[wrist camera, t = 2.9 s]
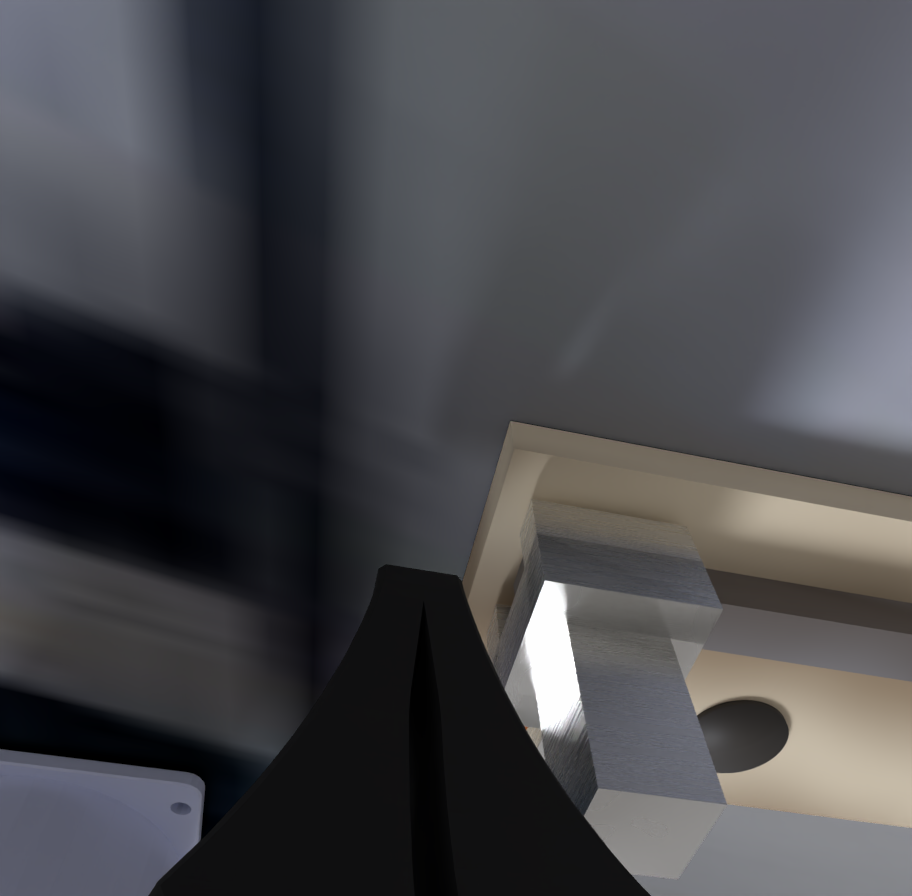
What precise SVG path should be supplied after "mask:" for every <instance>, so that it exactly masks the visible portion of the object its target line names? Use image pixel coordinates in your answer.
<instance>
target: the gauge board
mask: <svg viewBox="0 0 912 896" xmlns="http://www.w3.org/2000/svg"><path fill="white" fill-rule="evenodd" d="M531 499H534V500H540V501H546V502H551V503H557V504H563V505H568V506H574V507H580V508H585V509H591V510H597V511H602V512H608V513H614V514H619V515H625V516H631V517H636V518H642V519H648V520H653V521H659V522H665V523H670V524H676V525H682V526H687V528H688V531H689V533H690V535H691V537H692V540H693V542H694V544H695V546H696V549H697V551H698V553H699V555H700V558H701V560H702V562H703V565H704V567H705V569H706V571H707V574H708V576H709V578H710V580H711V583H712V585H713V587H714V589H715V592H716V594H717V596H718V599H719V601H720V603H721V605H722V608H723V611H722V613H721V615H720V616H719V618H718V620H717V622H716V624H715V626H714V627H713V629H712V631H711V633H710V635H709V637H708V639H707V640H706V642H705V644H704V646H703V648H702V650H701V651H700V653H699V655H698V657H697V659H696V661H695V663H694V664H693V666H692V668H691V670H690V672H689V674H688V675H687V677H686V679H685V683H686V685H687V688H688V691H689V694H690V697H691V700H692V703H693V706H694V709H695V712H696V715H697V718H698V721H699V723H700V726H701V729H702V732H703V735H704V738H705V741H706V744H707V747H708V750H709V753H710V756H711V759H712V761H713V764H714V767H715V770H716V773H717V776H718V779H719V782H720V785H721V788H722V791H723V794H724V796H725V799H726V802H727V804H730V805H738V806H746V807H754V808H761V809H769V810H777V811H785V812H792V813H800V814H808V815H816V816H823V817H831V818H839V819H847V820H854V821H862V822H870V823H878V824H885V825H893V826H901V827H909V828H912V497H911V496H905V495H900V494H895V493H890V492H884V491H879V490H874V489H868V488H863V487H858V486H853V485H847V484H842V483H837V482H831V481H826V480H821V479H815V478H810V477H805V476H800V475H794V474H789V473H784V472H778V471H773V470H768V469H763V468H757V467H752V466H747V465H741V464H736V463H731V462H725V461H720V460H715V459H710V458H704V457H699V456H694V455H688V454H683V453H678V452H673V451H667V450H662V449H657V448H651V447H646V446H641V445H635V444H630V443H625V442H620V441H614V440H609V439H604V438H598V437H593V436H588V435H583V434H577V433H572V432H567V431H561V430H556V429H551V428H545V427H540V426H535V425H530V424H524V423H519V422H514V421H510V424H509V427H508V430H507V434H506V437H505V440H504V444H503V447H502V450H501V454H500V457H499V461H498V464H497V467H496V471H495V474H494V477H493V481H492V484H491V487H490V491H489V494H488V497H487V501H486V504H485V508H484V511H483V514H482V518H481V521H480V524H479V528H478V531H477V534H476V538H475V541H474V545H473V548H472V551H471V555H470V558H469V561H468V565H467V568H466V571H465V575H464V578H463V581H462V584H463V588H464V591H465V594H466V597H467V601H468V604H469V606H470V609H471V612H472V615H473V618H474V620H475V623H476V625H477V628H478V631H479V633H480V636H481V638H482V641H483V643H484V645H485V648H486V650H487V652H488V648H487V630H488V627H489V624H490V621H491V618H492V615H493V612H494V609H495V606H496V604H500V605H506V606H512V603H513V600H514V597H515V594H516V591H517V589H518V586H519V583H520V580H521V577H522V574H523V571H524V561H523V554H522V547H521V539H520V531H521V528H522V525H523V522H524V519H525V516H526V513H527V510H528V507H529V504H530V501H531Z"/></svg>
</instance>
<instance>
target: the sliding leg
mask: <svg viewBox="0 0 912 896" xmlns="http://www.w3.org/2000/svg"><path fill="white" fill-rule="evenodd" d="M520 539H521V547H522V554H523V561H524V571H523V574H522V577H521V580H520V583H519V586H518V589H517V591H516V594H515V597H514V600H513V603H512V606H506V605H500V604H496V606H495V609H494V612H493V615H492V618H491V621H490V624H489V627H488V630H487V648H488V655H489V657H490V659H491V661H492V663H493V666H494V668H495V670H496V672H497V674H498V677H499V679H500V681H501V683H502V685H503V687H504V689H505V691H506V693H507V695H508V697H509V699H510V701H511V703H512V705H513V706H514V708H515V710H516V712H517V714H518V716H519V718H520V720H521V721H522V723H523V725H524V727H525V729H526V730H527V732H528V734H529V736H530V737H531V739H532V741H533V742H534V744H535V746H536V747H537V749H538V751H539V752H540V754H541V755H542V757H543V758H544V760H545V762H546V763H547V765H548V766H549V768H550V769H551V771H552V773H553V774H554V775H555V777H556V778H557V780H558V781H559V783H560V784H561V786H562V787H563V789H564V790H565V791H566V793H567V794H568V796H569V797H570V799H571V800H572V802H573V803H574V804H575V806H576V807H577V808H578V809H579V811H580V812H581V813H582V815H583V816H584V817H585V818H586V820H587V821H588V822H589V824H590V825H591V826H592V827H593V829H594V830H595V831H596V833H597V834H598V835H599V836H600V838H601V839H602V840H603V842H604V843H605V844H606V845H607V847H608V848H609V849H610V851H611V852H612V853H613V854H614V855H615V857H616V858H617V859H618V860H619V861H620V862H621V863H622V865H623V866H624V867H625V868H626V869H627V870H628V872H629V873H630V874H635V875H644V876H652V877H661V878H670V879H679V877H680V876H681V874H682V873H683V871H684V870H685V868H686V867H687V865H688V864H689V862H690V861H691V859H692V858H693V856H694V855H695V853H696V852H697V850H698V849H699V847H700V846H701V844H702V843H703V841H704V840H705V838H706V836H707V835H708V833H709V832H710V830H711V829H712V827H713V826H714V824H715V823H716V821H717V820H718V818H719V817H720V815H721V814H722V812H723V811H724V809H725V808H726V806H727V802H726V799H725V796H724V794H723V791H722V788H721V785H720V782H719V779H718V776H717V773H716V770H715V767H714V764H713V761H712V759H711V756H710V753H709V750H708V747H707V744H706V741H705V738H704V735H703V732H702V729H701V726H700V723H699V721H698V718H697V715H696V712H695V709H694V706H693V703H692V700H691V697H690V694H689V691H688V688H687V685H686V683H685V679H686V677H687V675H688V674H689V672H690V670H691V668H692V666H693V664H694V663H695V661H696V659H697V657H698V655H699V653H700V651H701V650H702V648H703V646H704V644H705V642H706V640H707V639H708V637H709V635H710V633H711V631H712V629H713V627H714V626H715V624H716V622H717V620H718V618H719V616H720V615H721V613H722V611H723V608H722V605H721V603H720V601H719V599H718V596H717V594H716V592H715V589H714V587H713V585H712V583H711V580H710V578H709V576H708V574H707V571H706V569H705V567H704V565H703V562H702V560H701V558H700V555H699V553H698V551H697V549H696V546H695V544H694V542H693V540H692V537H691V535H690V533H689V531H688V528H687V526H682V525H676V524H670V523H665V522H659V521H653V520H648V519H642V518H636V517H631V516H625V515H619V514H614V513H608V512H602V511H597V510H591V509H585V508H580V507H574V506H568V505H563V504H557V503H551V502H546V501H540V500H534V499H531V501H530V504H529V507H528V510H527V513H526V516H525V519H524V522H523V525H522V528H521V531H520Z"/></svg>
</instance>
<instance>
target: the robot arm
mask: <svg viewBox="0 0 912 896" xmlns="http://www.w3.org/2000/svg"><path fill="white" fill-rule="evenodd" d="M204 795H205V784H204V782H203V780H202V779H201V778H200V777H199V776H197V775H195V774H193V773H189V772H183V771H175V770H167V769H159V768H151V767H143V766H135V765H126V764H118V763H110V762H102V761H94V760H86V759H78V758H70V757H61V756H53V755H45V754H37V753H29V752H21V751H13V750H5V749H0V896H651V895H650V894H649V893H648V892H647V891H646V890H645V889H644V888H643V887H642V886H641V885H640V884H639V883H638V882H637V881H636V880H635V878H634V877H633V876H632V875H631V874H630V873H629V872H628V870H627V869H626V868H625V867H624V866H623V865H622V863H621V862H620V861H619V860H618V859H617V858H616V857H615V855H614V854H613V853H612V852H611V851H610V849H609V848H608V847H607V845H606V844H605V843H604V842H603V840H602V839H601V838H600V836H599V835H598V834H597V833H596V831H595V830H594V829H593V827H592V826H591V825H590V824H589V822H588V821H587V820H586V818H585V817H584V816H583V815H582V813H581V812H580V811H579V809H578V808H577V807H576V806H575V804H574V803H573V802H572V800H571V799H570V797H569V796H568V794H567V793H566V791H565V790H564V789H563V787H562V786H561V784H560V783H559V781H558V780H557V778H556V777H555V775H554V774H553V773H552V771H551V769H550V768H549V766H548V765H547V763H546V762H545V760H544V758H543V757H542V755H541V754H540V752H539V751H538V749H537V747H536V746H535V744H534V742H533V741H532V739H531V737H530V736H529V734H528V732H527V730H526V729H525V727H524V725H523V723H522V721H521V720H520V718H519V716H518V714H517V712H516V710H515V708H514V706H513V705H512V703H511V701H510V699H509V697H508V695H507V693H506V691H505V689H504V687H503V685H502V683H501V681H500V679H499V677H498V674H497V672H496V670H495V668H494V666H493V663H492V661H491V659H490V657H489V655H488V652H487V650H486V648H485V645H484V643H483V641H482V638H481V636H480V633H479V631H478V628H477V625H476V623H475V620H474V618H473V615H472V612H471V609H470V606H469V604H468V601H467V597H466V594H465V591H464V588H463V584H462V581H461V580H460V579H459V577H458V576H456V575H450V574H444V573H437V572H431V571H425V570H418V569H412V568H406V567H400V566H393V565H387V564H386V565H384V566H383V567H381V568H379V569H378V574H377V578H376V583H375V588H374V592H373V596H372V599H371V602H370V604H369V607H368V609H367V611H366V614H365V616H364V619H363V621H362V623H361V625H360V627H359V629H358V631H357V633H356V635H355V637H354V639H353V641H352V643H351V645H350V647H349V649H348V651H347V653H346V655H345V656H344V658H343V660H342V661H341V663H340V665H339V666H338V668H337V670H336V671H335V673H334V675H333V676H332V678H331V680H330V681H329V683H328V685H327V686H326V688H325V690H324V691H323V693H322V694H321V696H320V697H319V699H318V700H317V702H316V703H315V705H314V706H313V708H312V709H311V711H310V712H309V714H308V715H307V717H306V718H305V719H304V721H303V722H302V724H301V725H300V726H299V728H298V729H297V730H296V732H295V733H294V735H293V736H292V737H291V739H290V740H289V741H288V742H287V744H286V745H285V746H284V747H283V749H282V750H281V751H280V752H279V754H278V755H277V756H276V758H275V759H274V760H273V761H272V763H271V764H270V765H269V766H268V768H267V769H266V770H265V771H264V772H263V774H262V775H261V776H260V777H259V778H258V779H257V781H256V782H255V783H254V784H253V785H252V786H251V787H250V789H249V790H248V791H247V792H246V793H245V794H244V795H243V796H242V797H241V798H240V799H239V800H238V802H237V803H236V804H235V805H234V806H233V807H232V808H231V809H230V810H229V811H228V812H227V814H226V815H225V816H224V817H223V818H222V819H221V820H220V821H219V822H218V823H217V824H216V825H215V826H214V827H213V828H212V830H211V831H210V832H209V833H208V834H207V835H206V836H205V837H204V838H203V839H201V830H202V818H203V806H204Z"/></svg>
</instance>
